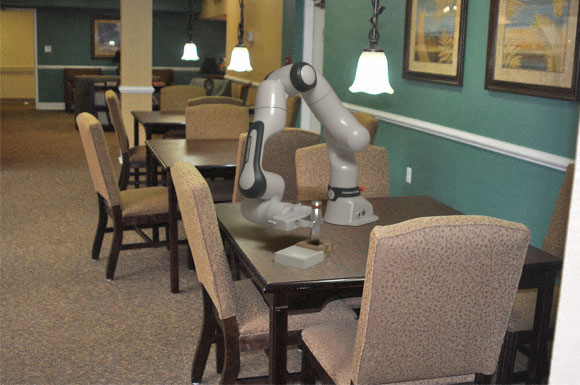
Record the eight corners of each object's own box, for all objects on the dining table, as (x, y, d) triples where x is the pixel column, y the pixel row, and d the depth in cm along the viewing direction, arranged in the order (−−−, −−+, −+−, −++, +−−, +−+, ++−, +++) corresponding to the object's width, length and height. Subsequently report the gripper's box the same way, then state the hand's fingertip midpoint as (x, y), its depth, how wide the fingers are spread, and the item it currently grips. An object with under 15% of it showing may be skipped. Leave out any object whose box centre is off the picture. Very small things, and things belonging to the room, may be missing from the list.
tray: (294, 254, 213) (294, 244, 212) (323, 261, 207) (323, 251, 206) (274, 262, 204) (274, 252, 204) (303, 269, 198) (304, 259, 198)
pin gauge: (315, 247, 215) (317, 199, 211) (321, 250, 212) (323, 202, 209) (307, 249, 213) (309, 200, 210) (313, 251, 210) (315, 203, 207)
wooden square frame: (310, 249, 219) (311, 237, 218) (333, 254, 214) (334, 242, 213) (295, 255, 212) (295, 243, 211) (318, 261, 207) (319, 248, 206)
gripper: (263, 212, 209) (299, 219, 201) (300, 201, 225) (334, 208, 218) (263, 231, 210) (299, 239, 202) (299, 219, 227) (333, 226, 219)
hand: (317, 223), depth 210 cm, fingers closed on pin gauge, 3 cm apart
